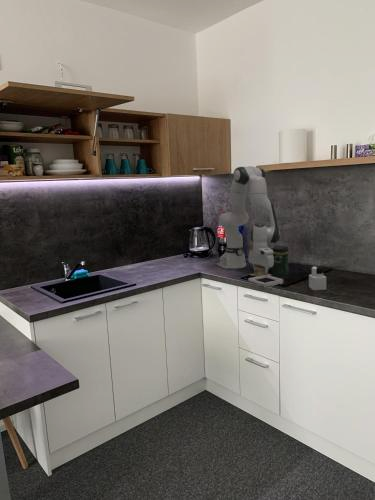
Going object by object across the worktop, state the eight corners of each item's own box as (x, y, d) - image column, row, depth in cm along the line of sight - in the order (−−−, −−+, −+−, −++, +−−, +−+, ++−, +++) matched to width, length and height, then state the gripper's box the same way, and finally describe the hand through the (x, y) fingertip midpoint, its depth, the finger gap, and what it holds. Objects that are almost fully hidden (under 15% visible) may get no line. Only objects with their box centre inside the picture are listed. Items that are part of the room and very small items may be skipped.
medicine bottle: (321, 286, 213) (321, 265, 211) (326, 289, 206) (326, 267, 204) (308, 287, 213) (308, 265, 211) (313, 290, 206) (313, 268, 204)
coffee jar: (290, 274, 242) (290, 245, 239) (284, 277, 237) (284, 247, 233) (276, 272, 249) (276, 244, 246) (270, 275, 243) (270, 246, 240)
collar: (251, 275, 241) (251, 267, 240) (262, 273, 245) (262, 265, 244) (258, 277, 235) (257, 269, 234) (268, 275, 239) (268, 267, 238)
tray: (248, 282, 228) (248, 278, 228) (266, 278, 235) (266, 274, 235) (264, 287, 216) (264, 283, 215) (283, 283, 222) (283, 279, 222)
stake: (249, 276, 243) (248, 267, 242) (261, 273, 248) (261, 264, 247) (259, 279, 235) (259, 270, 234) (272, 276, 239) (272, 267, 238)
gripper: (245, 248, 246) (246, 269, 248) (267, 252, 228) (267, 275, 231) (253, 247, 249) (254, 268, 251) (275, 251, 231) (275, 274, 234)
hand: (260, 272), depth 241 cm, fingers open, 8 cm apart
